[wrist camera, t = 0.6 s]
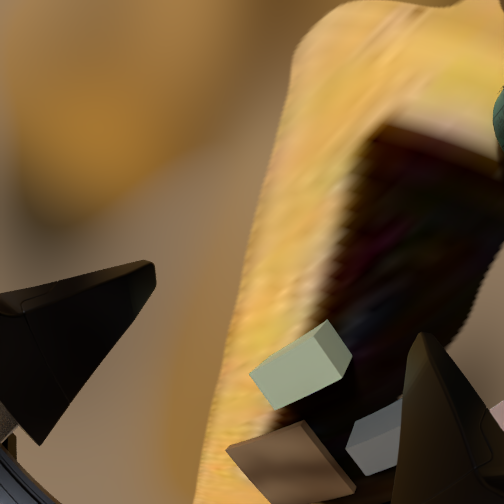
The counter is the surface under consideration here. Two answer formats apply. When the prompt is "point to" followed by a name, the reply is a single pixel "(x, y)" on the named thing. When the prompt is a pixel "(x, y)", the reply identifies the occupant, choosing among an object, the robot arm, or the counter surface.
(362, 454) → the charcoal brick
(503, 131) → the beverage bottle
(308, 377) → the sage brick
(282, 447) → the walnut board
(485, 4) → the counter surface
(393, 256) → the counter surface
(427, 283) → the counter surface
